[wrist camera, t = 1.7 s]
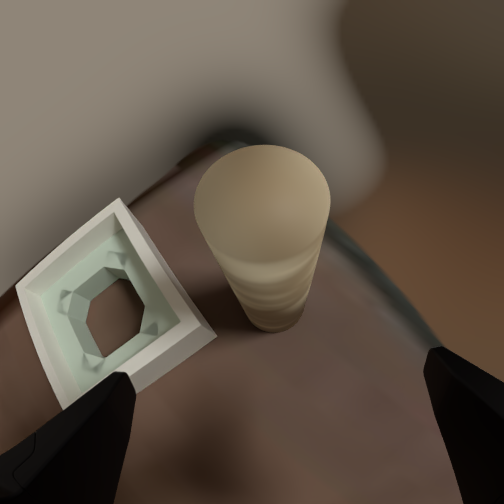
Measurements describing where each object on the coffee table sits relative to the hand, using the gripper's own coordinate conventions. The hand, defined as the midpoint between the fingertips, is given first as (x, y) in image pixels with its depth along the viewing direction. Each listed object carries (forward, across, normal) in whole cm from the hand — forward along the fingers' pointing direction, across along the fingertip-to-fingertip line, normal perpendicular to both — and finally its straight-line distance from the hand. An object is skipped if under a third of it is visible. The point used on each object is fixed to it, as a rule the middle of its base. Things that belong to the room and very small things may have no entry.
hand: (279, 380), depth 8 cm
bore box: (+12, +11, +5) cm, 17 cm away
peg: (+12, 0, +5) cm, 13 cm away
